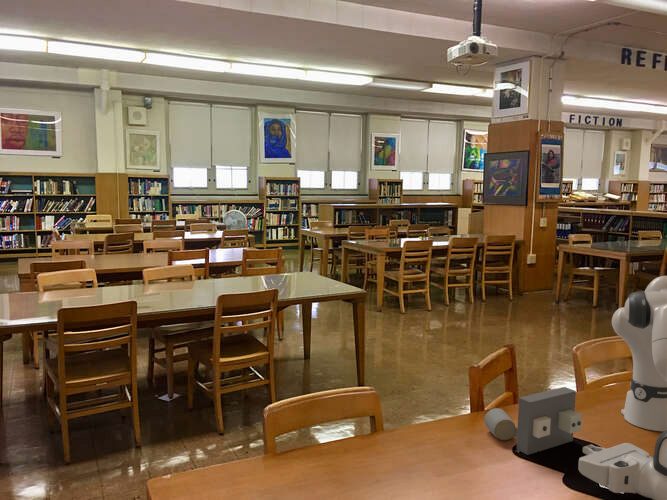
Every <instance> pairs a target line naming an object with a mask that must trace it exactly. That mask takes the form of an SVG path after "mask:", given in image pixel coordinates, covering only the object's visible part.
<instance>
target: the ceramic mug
mask: <svg viewBox="0 0 667 500" xmlns="http://www.w3.org/2000/svg"><path fill="white" fill-rule="evenodd" d="M484 424H485V427H486V428H487V429H488V430H489V431H490V433H492V434H493V437H495V438H496V439H497V440H500V441H509V440H510V439H512V438H513V437H516V438H517V430H518V427H516V425H515V423H514V421H513V419H511V417H510V416H509V415H508V414H507V412H506V411H504V410H503V409H502V408H492V409H490V410H488V411H487V412H486V414H485V416H484Z"/></svg>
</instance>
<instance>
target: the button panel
mask: <svg viewBox="0 0 667 500" xmlns="http://www.w3.org/2000/svg"><path fill="white" fill-rule="evenodd" d="M576 393H577V391H576V390H574V389H571V388H569V387H566V386H563V387H559V388H554V389H550V390H546V391H541V392H537V393H534V394H528V395H525V396H521V397H518V411H517V413H518V415H517V428H518V430H517V437H516V450H518V451H519V452H521V453H523V454H525V455H526V456H529V455H531V454H532V455H533V454H536V453H538V451H539V452H541V451H544V450H548V449H551V448H554V447H558V446H561V445H564V444H567V443H572V442H573V440H574V433H571V434H570V433H567V432H565V431H563V430H561V429H559V428H558V416H559V412H560V411H563V410H567V409H570V410H573V411H575V410H576V396H577V395H576ZM575 412H576V411H575ZM541 416H546V417H549V418H551V423H550V435H547V436H544V437H541V438H536V437H534V436H533V435H532V431H533V418H537V417H541Z"/></svg>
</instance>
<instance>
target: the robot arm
mask: <svg viewBox="0 0 667 500" xmlns="http://www.w3.org/2000/svg"><path fill="white" fill-rule="evenodd" d="M611 326H612V329H613V331H614V333H615V334H617V336H619V337H620V338H621V339H622V340H623V341H624V342H625V343H626V344H627V346H628V347H629V350H630V352H631V356H632V365H633V366H632V369H633V371H632V377H631V378H630V382H629V383H630V384H629V385H630V390H628V391H627V393H626V398H625V403H624V408H622V409H621V411H620V412H621V414H622V415H623V416H624V417H623V418H624V420H625V421H627V422H628V423H629V424H631V425H633V426H635V427H638V428H641V429H645V430H649V431H655V432H661V433H660V434H659V435H658V436H657V438H656V442H655V445H654V450H653V456H650V453H649V452H647V451H645V450H644V449H642V448H640V447H638V446H636V445H634V444H632V443H630V442H623V443H620V444H618V445H614V446H611V447H608V448H605V447H601V446H595V445H593V444H587V445H585V446H582V453H583V454H585V455H584V456H581V457H579V459H578V465H577V466H578V468H577V469H578V471H579V473H580V474H581V475H582V476H584V477H586V478H587V479H589V480H591V481H593V482H595V483H597V484H599V485H601V486H606V487H608V490H609V491H610V492H612V493H614V494H621V493H630V494H631V493H632V494H638V495H640V496H642V497H645V498H649V499H652V500H667V275H661V276H658V277H655V278H654V279H653V280H652V281H650V282H649V284H648V285H647V286H646V288H645V290H640V291H639V290H638V291H634V292H631V293H630V294H629V295H628V296H627V299H626V300H625V303H624V306H623V307H619V308H618V309H617V310H615V312H614V313H613V315H612V317H611Z"/></svg>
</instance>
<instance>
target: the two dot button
mask: <svg viewBox="0 0 667 500" xmlns="http://www.w3.org/2000/svg"><path fill="white" fill-rule="evenodd" d="M582 420H583V414H582V413H580V412H577V411H573V410H570V409H567V410H563V411H560V412H559V416H558V428H559V429H561V430H563V431H565V432H567V433H570V434H571V433H573V434H574V433H577V432H580V431H582V423H583V422H582Z"/></svg>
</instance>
